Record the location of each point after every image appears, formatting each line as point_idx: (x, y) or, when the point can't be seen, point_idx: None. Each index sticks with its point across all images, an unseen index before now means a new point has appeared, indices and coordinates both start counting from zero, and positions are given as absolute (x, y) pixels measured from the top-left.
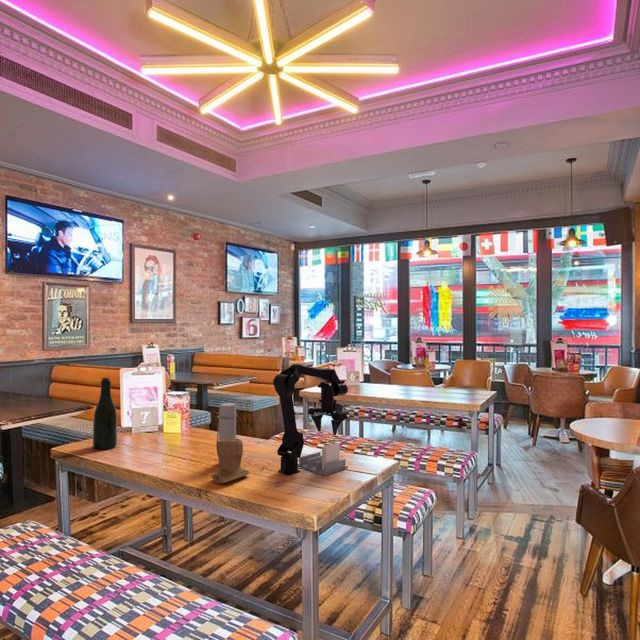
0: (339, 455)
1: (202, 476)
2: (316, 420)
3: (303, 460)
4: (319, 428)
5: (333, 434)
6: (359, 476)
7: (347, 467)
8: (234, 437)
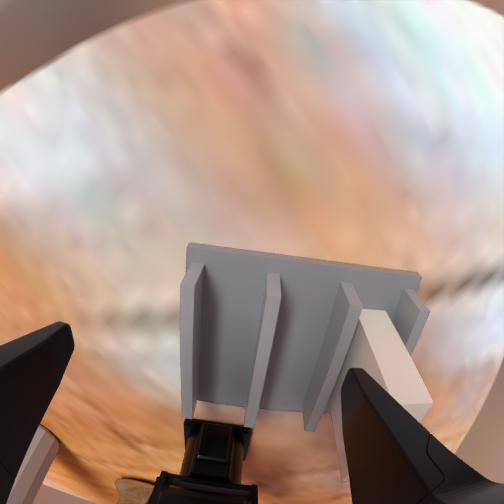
0: (406, 349)
1: (106, 492)
2: (7, 471)
3: (196, 391)
4: (54, 365)
5: (341, 398)
6: (486, 328)
7: (418, 275)
8: (26, 494)
